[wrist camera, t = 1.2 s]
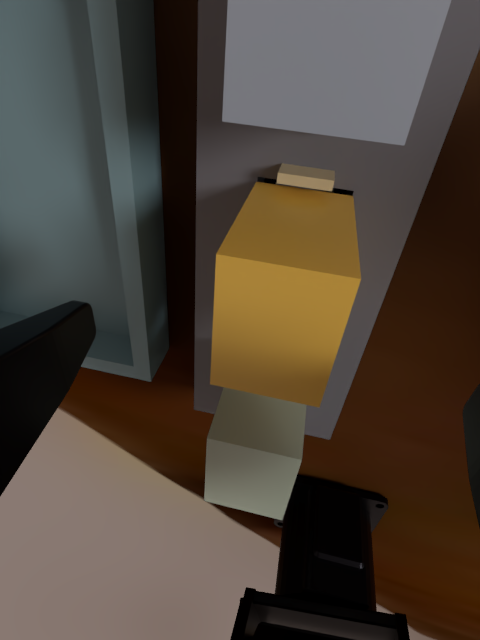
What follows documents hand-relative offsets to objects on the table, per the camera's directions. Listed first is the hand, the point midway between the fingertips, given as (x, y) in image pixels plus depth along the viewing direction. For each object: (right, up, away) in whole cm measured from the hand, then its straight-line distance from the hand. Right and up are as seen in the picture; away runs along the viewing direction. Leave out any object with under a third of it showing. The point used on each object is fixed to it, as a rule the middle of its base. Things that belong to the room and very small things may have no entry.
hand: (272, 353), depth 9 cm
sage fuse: (+1, -1, +10) cm, 10 cm away
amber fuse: (+1, +5, +6) cm, 8 cm away
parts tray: (-9, +7, +7) cm, 13 cm away
